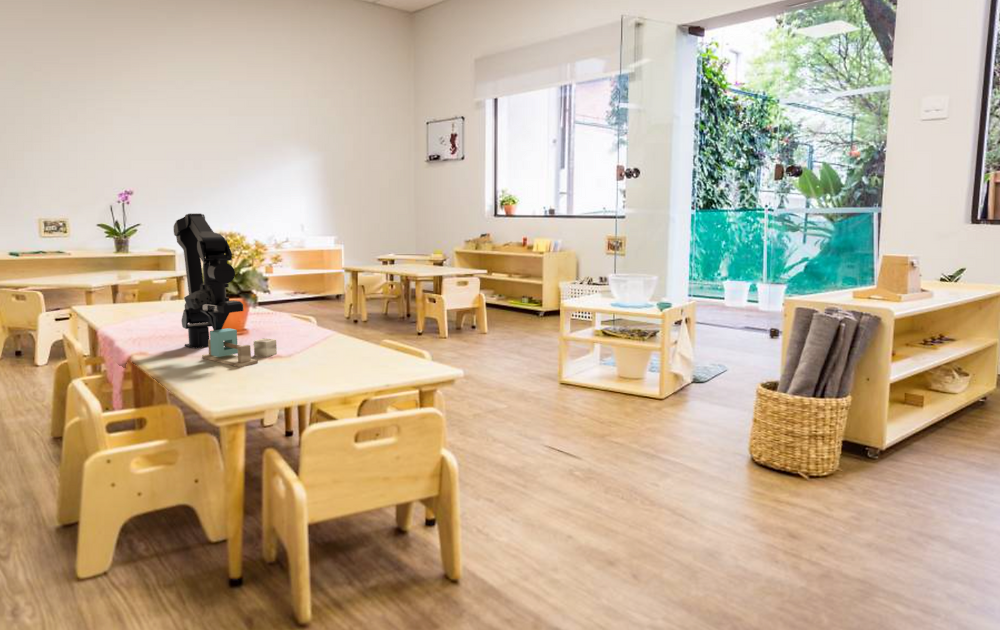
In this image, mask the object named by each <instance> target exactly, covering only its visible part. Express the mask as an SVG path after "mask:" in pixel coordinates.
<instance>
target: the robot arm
mask: <svg viewBox="0 0 1000 630" xmlns="http://www.w3.org/2000/svg"><path fill="white" fill-rule="evenodd" d="M173 235H174V236H175V237H176V242H177V244H178V245H179V246H180V248H181V249H182V250H183V256H184V263H185V264H184V265H185V274H186V281H187V282H186V283H187V290H188V295H186V296H184V301H185V303H184V309H183V311H182V312H183V313H182V317H181V326H182V328H183V329H185V330H187V332H188V335H187V336H188V343H184V347H187V348H192V349H200V348H207V347H208V340H210V330H209V328H210V327H211V328H212V329H213V330H220V329H223V327H224V325H225V323H226V321H227V319H228V317H229V315H230V314H231V313H232V314H233V313H238V312H239V313H240V312H244V304H243V302H242V301H239V300H230V297H227V291H226V290H227V289H226V288H229V287H230V286H229V283H231V282H233V280H234V278H235V276H236V271H235V268H234V267H233V266H232V264H229V263H228V261H229V262H230V261H231V262H232V261H233V252H232V249H231V247H230V244H229V243H228V241H227V240H226V239H225V237H224V235H222V234H221V233H217V232H215V231H214V230H213V229H212V228H211V226H210V224H208V222H207V220H206V216H205V214H203V213H187V214H185V215H184V216H183V217H180V218H178V219H177V220H175V223H174V224H173ZM213 330H212V331H213Z"/></svg>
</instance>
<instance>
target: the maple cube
mask: <svg viewBox="0 0 1000 630" xmlns="http://www.w3.org/2000/svg"><path fill="white" fill-rule="evenodd" d="M253 352H254V353H253V354H254V357H265V358H269V357H272V356H274V354H275V355H277V353H278V351H277V339H276V338H275V339H274V338H273V339H272V338H262V339H256V340H254V341H253ZM271 355H272V356H271Z"/></svg>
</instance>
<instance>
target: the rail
mask: <svg viewBox="0 0 1000 630" xmlns="http://www.w3.org/2000/svg"><path fill="white" fill-rule="evenodd" d="M225 346H226V347H230V348H234V349H238V353H237V354H232V355H227V356H221V357H217V356H213V355H211V344H210V339H209V340H208V346H207V347H208V353H206V354H202V359H206V360H208V361H209V360H210V361H214V362H218V363H222V364H225V365H231V366H233V367H238V368H241V367H245V366H250V365H256V364H258V363H259V360H258V359H253V358H252V355H251V353H252V352H251V345H249V344H245V345H244V344H243V345H239V344H237V345H236V344H231V343H227V342H224V347H225Z"/></svg>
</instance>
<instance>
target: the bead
mask: <svg viewBox="0 0 1000 630" xmlns="http://www.w3.org/2000/svg"><path fill="white" fill-rule="evenodd" d="M209 340H210V344H211V355H213V356H217V357H221V356H227V355H232V354H233V355H238V349H234V348H230V347H226V346H224V342H227V343H231V344H236V345H238V331H237V329H234V328H230V327H229V328H227V327H226V328H222V329H220V330H209Z"/></svg>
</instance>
